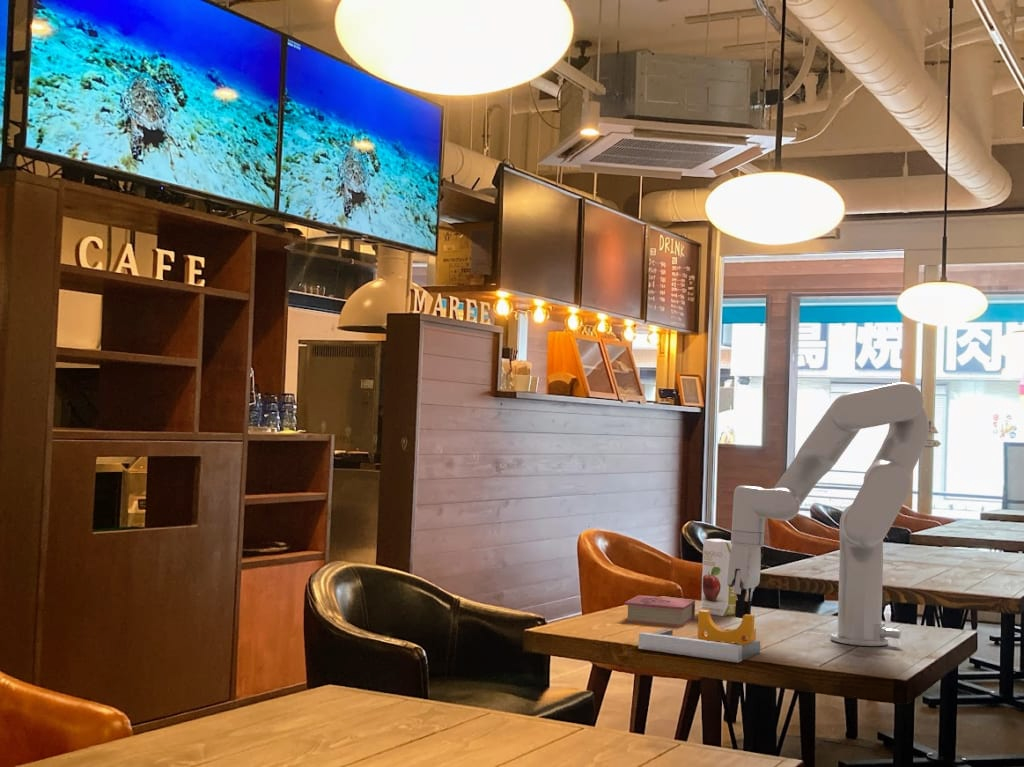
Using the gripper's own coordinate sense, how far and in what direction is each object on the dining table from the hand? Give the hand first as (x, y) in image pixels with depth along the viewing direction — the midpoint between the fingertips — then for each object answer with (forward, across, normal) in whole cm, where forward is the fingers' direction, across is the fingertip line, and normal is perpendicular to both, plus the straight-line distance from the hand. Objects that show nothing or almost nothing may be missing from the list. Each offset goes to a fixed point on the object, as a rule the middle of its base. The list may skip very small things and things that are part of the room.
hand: (742, 617), depth 267 cm
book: (+5, -5, -23) cm, 24 cm away
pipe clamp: (+4, +12, +1) cm, 13 cm away
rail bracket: (+4, +28, +1) cm, 28 cm away
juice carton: (+4, -25, -15) cm, 30 cm away
